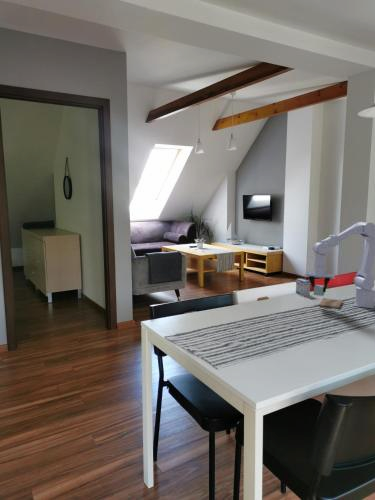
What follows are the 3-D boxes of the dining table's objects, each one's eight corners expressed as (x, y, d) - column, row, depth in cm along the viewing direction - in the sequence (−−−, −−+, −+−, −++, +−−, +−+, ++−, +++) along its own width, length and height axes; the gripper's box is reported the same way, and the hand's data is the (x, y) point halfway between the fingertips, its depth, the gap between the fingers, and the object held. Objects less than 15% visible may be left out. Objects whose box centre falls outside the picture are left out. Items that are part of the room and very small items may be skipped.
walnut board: (342, 302, 205) (342, 300, 205) (339, 308, 193) (339, 306, 193) (323, 300, 210) (323, 298, 210) (319, 306, 198) (319, 304, 198)
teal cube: (324, 294, 197) (324, 285, 196) (322, 295, 193) (322, 287, 192) (315, 293, 199) (315, 284, 198) (313, 294, 195) (313, 286, 194)
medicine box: (295, 292, 226) (296, 278, 225) (302, 292, 227) (302, 278, 226) (303, 296, 219) (303, 281, 217) (309, 295, 220) (310, 281, 219)
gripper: (335, 265, 194) (334, 290, 196) (306, 263, 200) (305, 288, 202) (334, 267, 188) (333, 294, 190) (304, 265, 194) (303, 291, 196)
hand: (319, 291), depth 196 cm, fingers closed on teal cube, 5 cm apart
